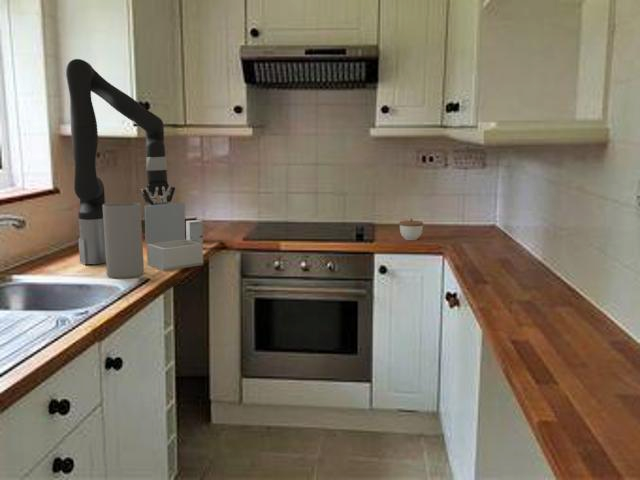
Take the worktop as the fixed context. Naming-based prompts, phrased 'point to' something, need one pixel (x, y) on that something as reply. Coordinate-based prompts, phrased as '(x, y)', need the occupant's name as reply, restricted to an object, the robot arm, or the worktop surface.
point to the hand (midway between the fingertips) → (159, 213)
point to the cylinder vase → (123, 239)
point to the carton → (174, 254)
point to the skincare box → (194, 231)
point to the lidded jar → (411, 229)
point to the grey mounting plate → (164, 222)
